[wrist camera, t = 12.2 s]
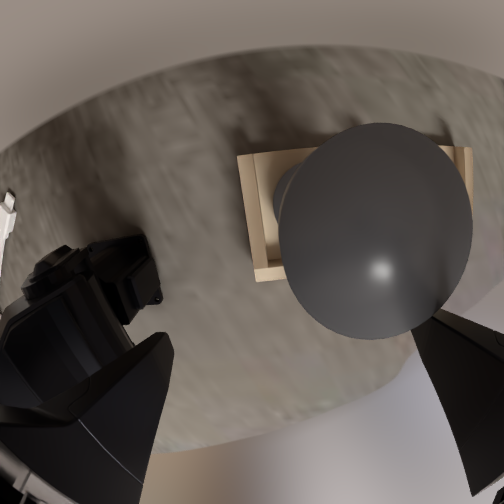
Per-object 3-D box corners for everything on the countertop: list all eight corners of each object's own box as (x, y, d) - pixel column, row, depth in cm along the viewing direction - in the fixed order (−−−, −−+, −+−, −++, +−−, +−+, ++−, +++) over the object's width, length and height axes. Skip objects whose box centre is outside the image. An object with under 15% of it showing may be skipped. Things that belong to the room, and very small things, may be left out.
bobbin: (281, 251, 20) (299, 358, 7) (265, 169, 19) (256, 139, 6) (359, 236, 19) (468, 310, 7) (346, 155, 18) (458, 121, 5)
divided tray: (257, 268, 22) (255, 284, 20) (240, 156, 19) (236, 156, 17) (454, 242, 21) (471, 252, 18) (454, 146, 18) (474, 148, 15)
